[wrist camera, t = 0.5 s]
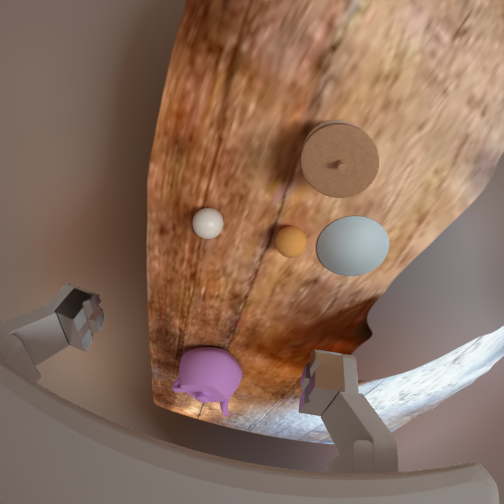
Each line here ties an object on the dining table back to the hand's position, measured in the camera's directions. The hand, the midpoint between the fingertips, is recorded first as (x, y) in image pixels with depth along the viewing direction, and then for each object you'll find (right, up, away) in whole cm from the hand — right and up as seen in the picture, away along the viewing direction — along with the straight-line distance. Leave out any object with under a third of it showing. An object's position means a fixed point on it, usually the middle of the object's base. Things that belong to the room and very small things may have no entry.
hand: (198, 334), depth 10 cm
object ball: (+9, +5, +42) cm, 43 cm away
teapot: (-9, -30, +77) cm, 83 cm away
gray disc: (+21, +4, +44) cm, 49 cm away
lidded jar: (+15, +20, +33) cm, 41 cm away
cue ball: (-6, +8, +43) cm, 44 cm away
